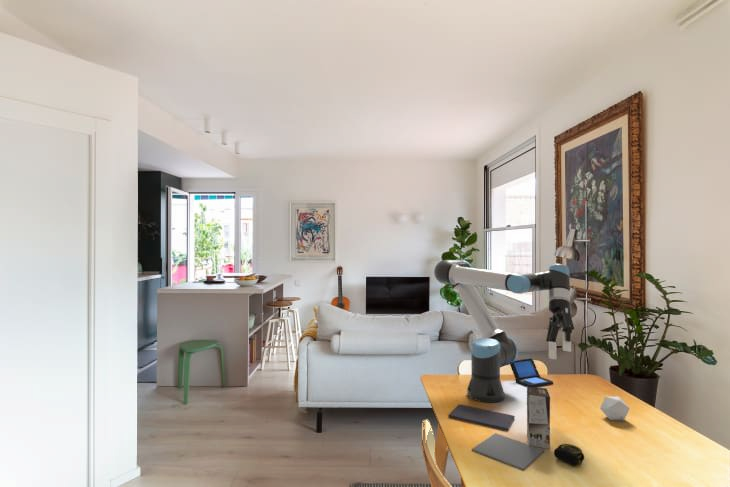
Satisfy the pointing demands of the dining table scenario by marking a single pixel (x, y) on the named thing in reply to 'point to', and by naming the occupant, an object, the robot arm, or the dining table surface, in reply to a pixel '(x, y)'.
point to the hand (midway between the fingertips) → (559, 355)
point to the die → (614, 408)
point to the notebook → (482, 417)
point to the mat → (508, 451)
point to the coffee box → (538, 417)
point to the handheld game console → (528, 373)
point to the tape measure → (569, 454)
